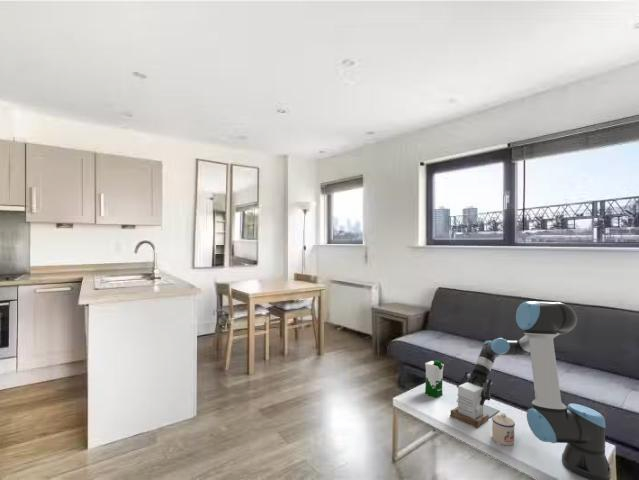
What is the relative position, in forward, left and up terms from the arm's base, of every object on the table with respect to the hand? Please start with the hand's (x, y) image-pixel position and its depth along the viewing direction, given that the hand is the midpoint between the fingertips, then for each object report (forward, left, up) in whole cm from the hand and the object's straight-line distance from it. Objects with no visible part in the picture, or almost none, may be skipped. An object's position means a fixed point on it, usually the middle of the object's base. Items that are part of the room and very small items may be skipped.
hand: (467, 406), depth 165 cm
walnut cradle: (+2, -2, -7) cm, 8 cm away
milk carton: (+28, +8, -7) cm, 30 cm away
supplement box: (+2, -2, -6) cm, 7 cm away
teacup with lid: (-16, -10, -7) cm, 20 cm away
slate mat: (+11, -13, -7) cm, 19 cm away
